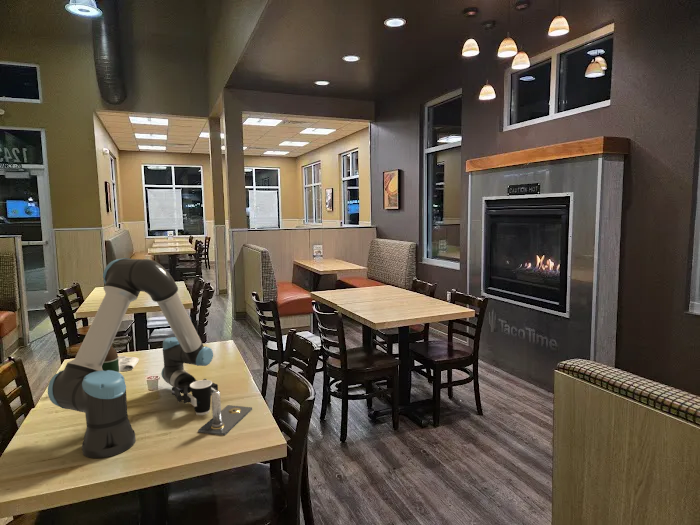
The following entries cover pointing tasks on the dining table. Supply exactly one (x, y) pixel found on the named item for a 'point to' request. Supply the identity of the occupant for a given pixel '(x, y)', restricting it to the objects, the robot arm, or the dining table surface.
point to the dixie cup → (202, 395)
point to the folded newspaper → (126, 363)
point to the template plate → (226, 420)
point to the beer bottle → (111, 361)
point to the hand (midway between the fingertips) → (207, 399)
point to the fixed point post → (216, 410)
